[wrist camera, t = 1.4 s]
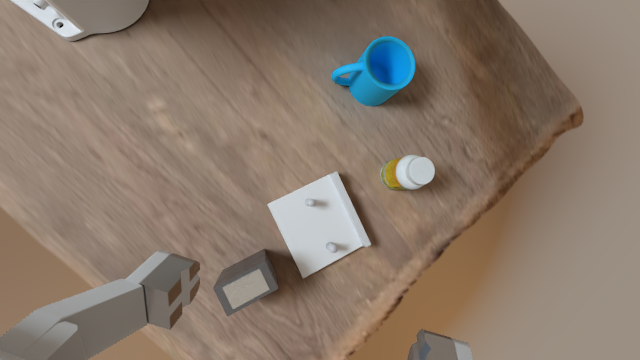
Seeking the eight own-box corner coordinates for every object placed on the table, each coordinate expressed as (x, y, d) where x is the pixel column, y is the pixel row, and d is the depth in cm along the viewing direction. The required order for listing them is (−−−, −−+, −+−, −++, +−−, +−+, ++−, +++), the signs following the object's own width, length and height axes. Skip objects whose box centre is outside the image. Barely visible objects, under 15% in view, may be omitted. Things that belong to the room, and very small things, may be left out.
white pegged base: (302, 276, 48) (305, 284, 44) (267, 204, 48) (267, 204, 44) (365, 241, 50) (374, 245, 46) (332, 172, 50) (339, 170, 46)
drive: (233, 293, 46) (227, 317, 37) (222, 270, 46) (213, 288, 37) (275, 271, 47) (278, 289, 38) (264, 248, 47) (264, 261, 38)
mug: (389, 60, 53) (412, 36, 45) (394, 105, 53) (418, 89, 45) (324, 61, 51) (335, 36, 43) (329, 108, 51) (341, 92, 43)
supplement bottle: (404, 157, 53) (436, 149, 43) (410, 187, 53) (443, 185, 43) (376, 162, 52) (402, 155, 42) (382, 193, 52) (409, 192, 42)
